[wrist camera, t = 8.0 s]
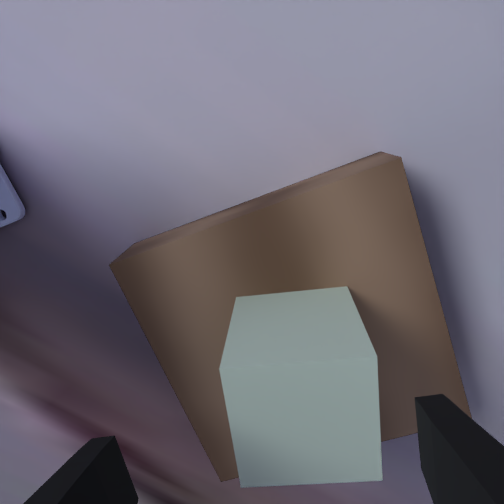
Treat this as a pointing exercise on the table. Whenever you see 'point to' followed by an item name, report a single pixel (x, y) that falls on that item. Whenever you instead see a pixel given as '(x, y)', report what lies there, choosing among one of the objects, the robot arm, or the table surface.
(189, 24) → the table surface
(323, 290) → the sage block
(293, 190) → the brown flat block
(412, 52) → the table surface
